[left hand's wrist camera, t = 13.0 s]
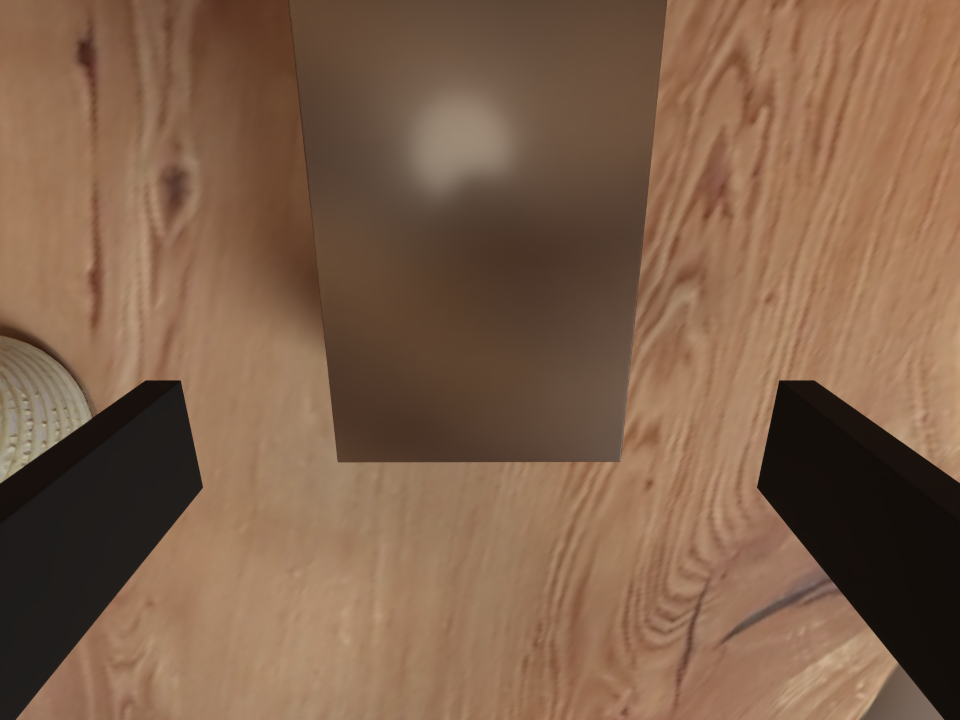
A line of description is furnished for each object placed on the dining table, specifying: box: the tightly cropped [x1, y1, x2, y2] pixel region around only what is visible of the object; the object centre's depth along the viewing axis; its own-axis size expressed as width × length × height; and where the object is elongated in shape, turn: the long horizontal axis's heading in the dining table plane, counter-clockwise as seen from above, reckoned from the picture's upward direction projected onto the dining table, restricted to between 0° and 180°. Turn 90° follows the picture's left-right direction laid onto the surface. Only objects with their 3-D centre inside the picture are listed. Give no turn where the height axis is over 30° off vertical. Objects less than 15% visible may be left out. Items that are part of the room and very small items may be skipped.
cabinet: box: [288, 0, 667, 462], centre depth 21 cm, size 19×10×8 cm, turn 0°
